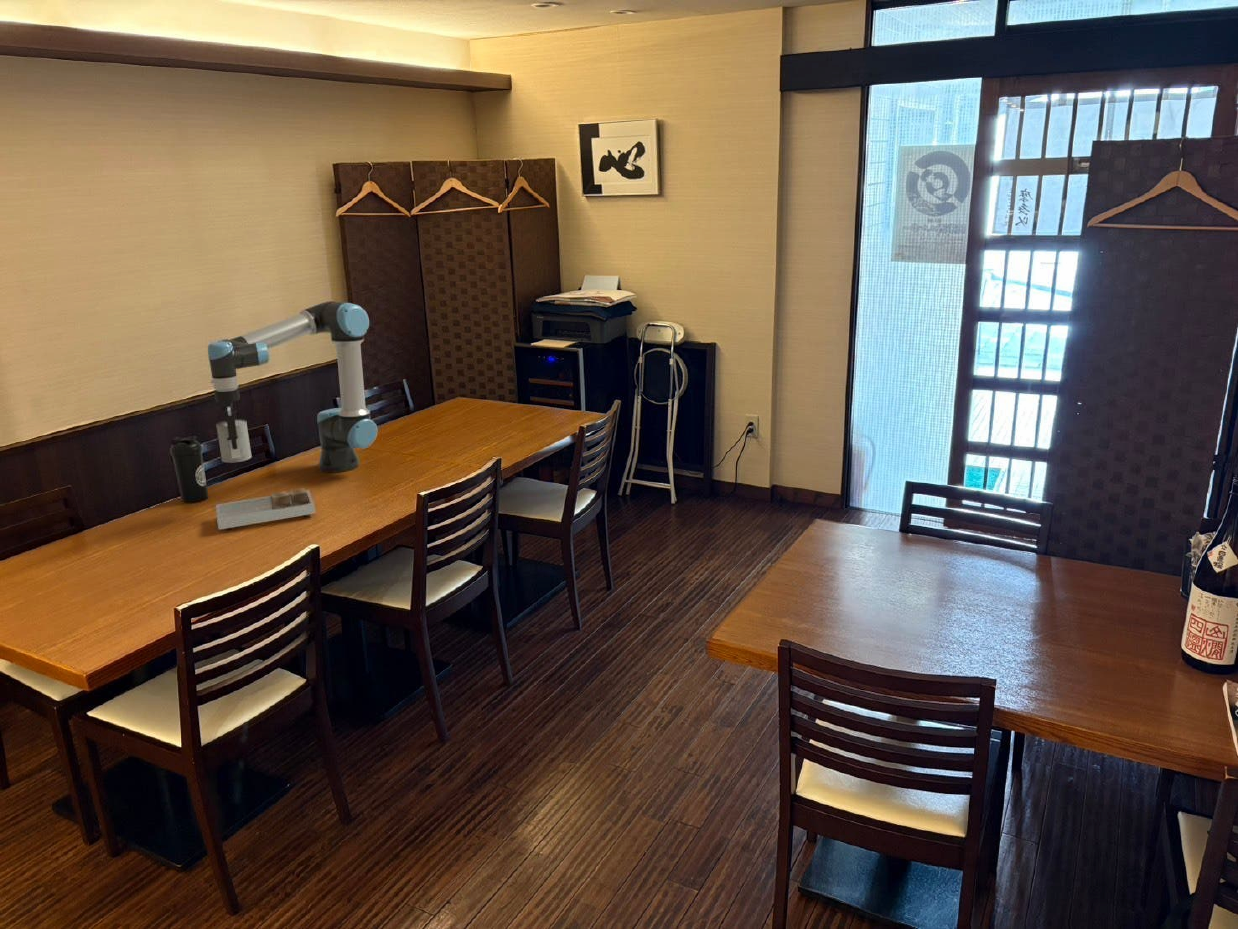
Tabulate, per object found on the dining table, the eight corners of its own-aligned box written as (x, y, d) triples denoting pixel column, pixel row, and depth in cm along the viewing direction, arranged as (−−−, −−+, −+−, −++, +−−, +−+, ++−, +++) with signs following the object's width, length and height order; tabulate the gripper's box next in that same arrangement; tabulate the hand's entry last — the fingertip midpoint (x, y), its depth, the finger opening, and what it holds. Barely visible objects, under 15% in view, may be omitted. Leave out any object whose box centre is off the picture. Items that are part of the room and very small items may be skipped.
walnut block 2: (307, 501, 309) (305, 488, 308) (308, 506, 305) (306, 492, 303) (291, 504, 307) (289, 490, 306) (293, 509, 303) (291, 495, 301)
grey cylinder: (257, 454, 309) (252, 419, 305) (242, 462, 300) (237, 427, 296) (231, 453, 310) (225, 419, 306) (215, 462, 301) (210, 426, 297)
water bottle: (203, 504, 317) (191, 442, 310) (174, 504, 317) (162, 442, 310) (215, 494, 327) (204, 433, 319) (188, 494, 327) (176, 434, 320)
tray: (310, 503, 315) (308, 489, 313) (316, 517, 302) (314, 503, 300) (218, 518, 303) (215, 504, 302) (219, 533, 290) (217, 519, 289)
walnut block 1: (287, 504, 307) (285, 491, 306) (291, 508, 303) (289, 495, 302) (272, 508, 305) (269, 494, 303) (276, 512, 301) (273, 498, 299)
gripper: (214, 383, 306) (224, 446, 313) (213, 397, 286) (224, 464, 293) (238, 381, 308) (247, 443, 315) (239, 394, 289) (248, 461, 296)
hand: (236, 453), depth 304 cm, fingers closed on grey cylinder, 9 cm apart
